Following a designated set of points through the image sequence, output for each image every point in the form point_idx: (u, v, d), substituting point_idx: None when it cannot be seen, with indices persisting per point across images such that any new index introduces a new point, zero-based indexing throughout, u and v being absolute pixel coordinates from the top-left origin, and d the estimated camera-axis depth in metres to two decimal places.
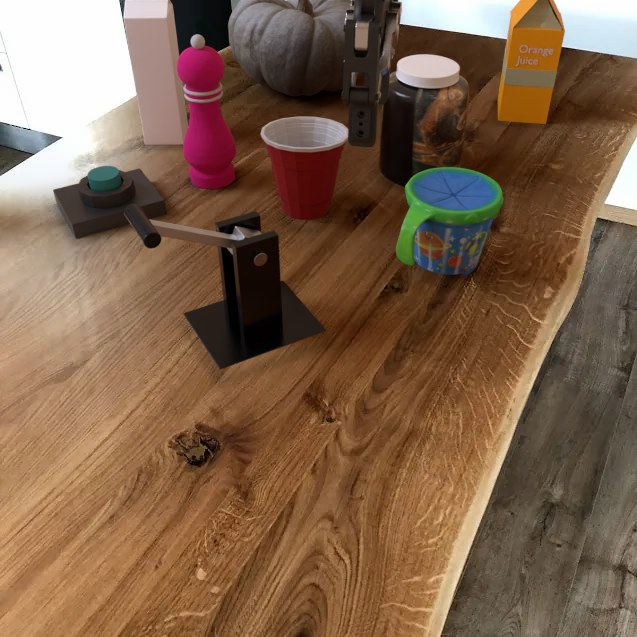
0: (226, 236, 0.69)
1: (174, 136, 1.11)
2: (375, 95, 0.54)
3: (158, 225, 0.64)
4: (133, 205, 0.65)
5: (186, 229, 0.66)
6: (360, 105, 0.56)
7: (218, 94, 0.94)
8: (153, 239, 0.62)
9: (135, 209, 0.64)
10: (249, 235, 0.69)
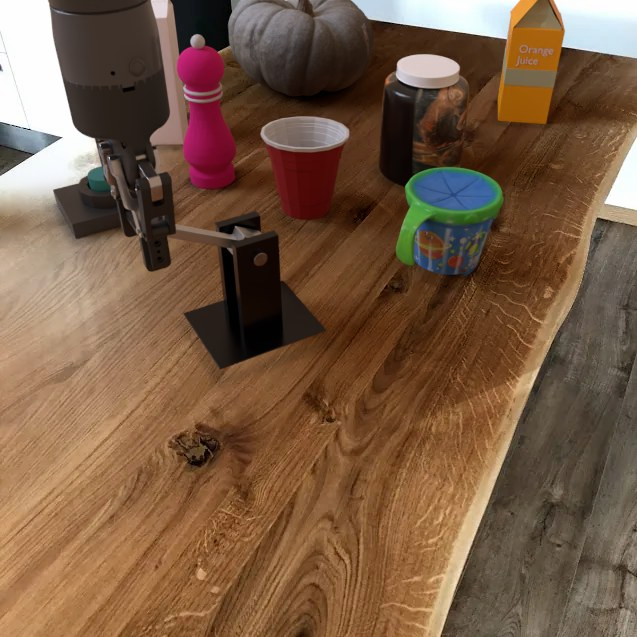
0: (226, 236, 0.69)
1: (174, 136, 1.11)
2: (174, 227, 0.59)
3: None
4: None
5: (186, 229, 0.66)
6: None
7: (218, 94, 0.94)
8: None
9: None
10: (249, 235, 0.69)
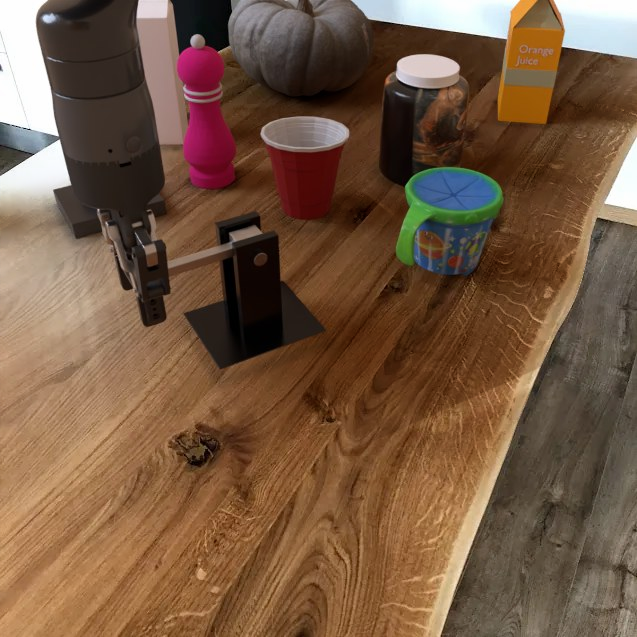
0: (222, 248, 0.69)
1: (174, 136, 1.11)
2: None
3: None
4: None
5: (179, 263, 0.68)
6: None
7: (218, 94, 0.94)
8: None
9: None
10: (243, 238, 0.69)
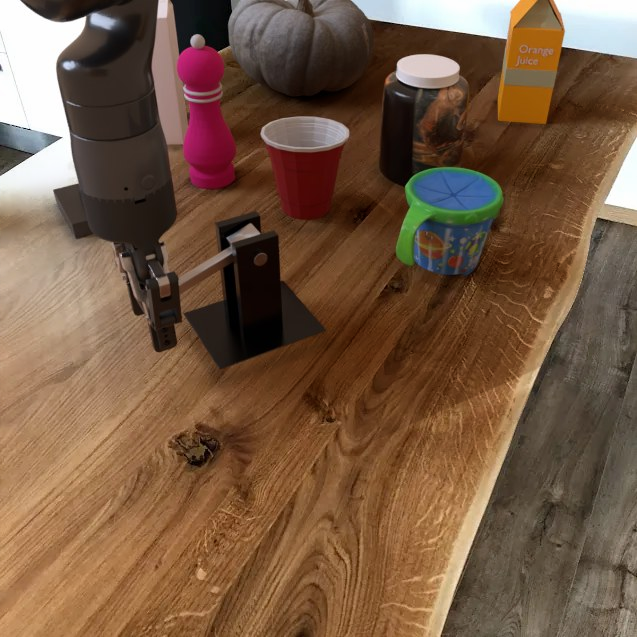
0: (222, 255, 0.70)
1: (174, 136, 1.11)
2: None
3: None
4: None
5: (184, 281, 0.69)
6: None
7: (218, 94, 0.94)
8: None
9: None
10: None
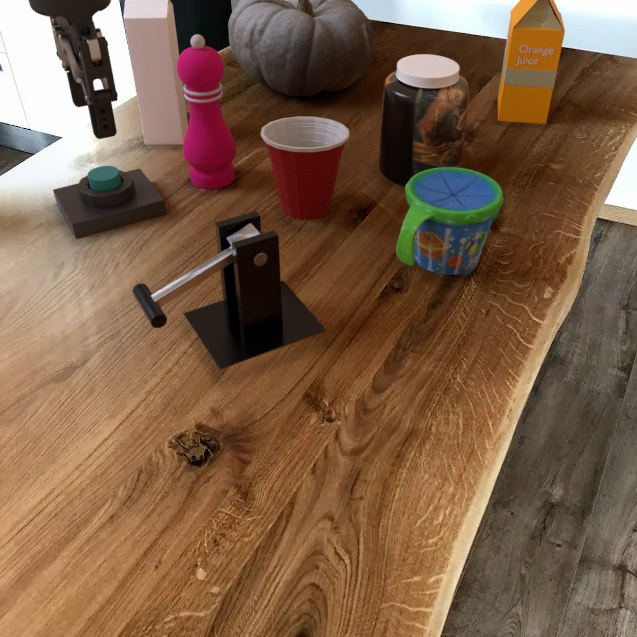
0: (222, 256, 0.70)
1: (174, 136, 1.11)
2: (115, 92, 0.69)
3: (159, 298, 0.68)
4: (135, 288, 0.70)
5: (184, 281, 0.69)
6: (101, 104, 0.71)
7: (218, 94, 0.94)
8: (158, 320, 0.67)
9: (137, 293, 0.69)
10: None
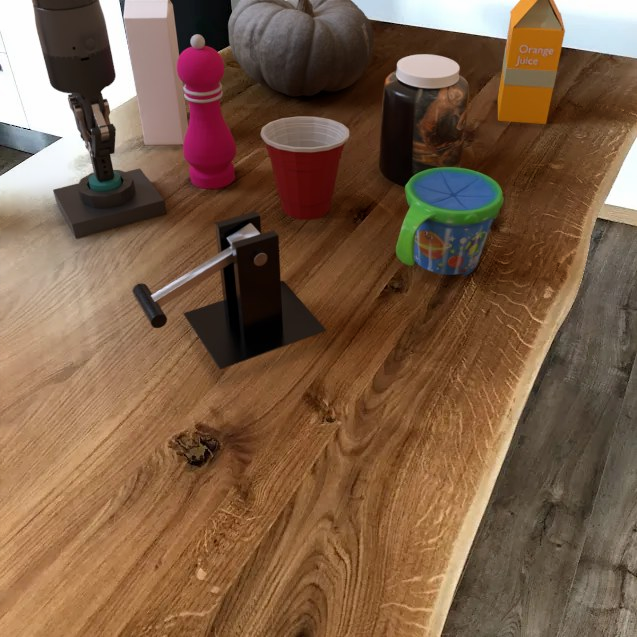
0: (222, 256, 0.70)
1: (174, 136, 1.11)
2: None
3: (159, 298, 0.68)
4: (135, 288, 0.70)
5: (184, 281, 0.69)
6: (101, 156, 0.91)
7: (218, 94, 0.94)
8: (158, 320, 0.67)
9: (137, 293, 0.69)
10: None
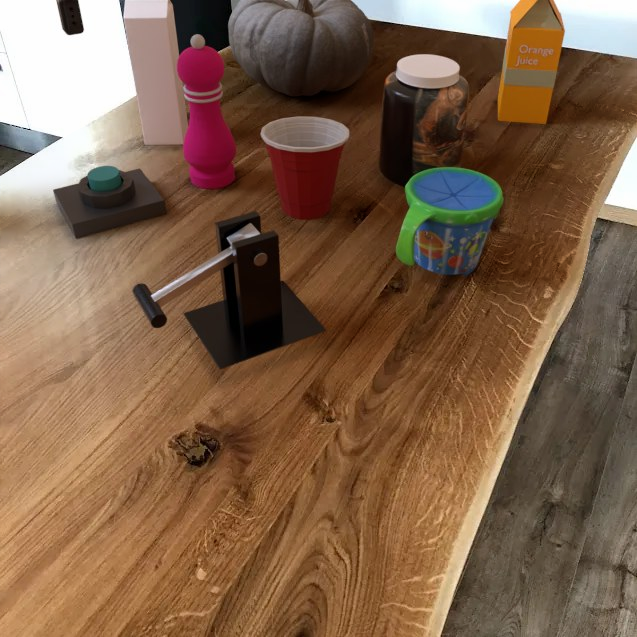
0: (222, 256, 0.70)
1: (174, 136, 1.11)
2: None
3: (159, 298, 0.68)
4: (135, 288, 0.70)
5: (184, 281, 0.69)
6: (69, 2, 0.83)
7: (218, 94, 0.94)
8: (158, 320, 0.67)
9: (137, 293, 0.69)
10: None
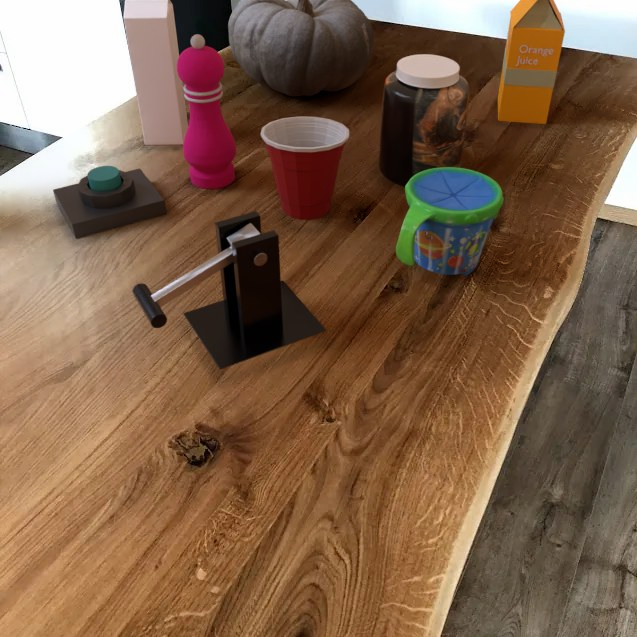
0: (222, 256, 0.70)
1: (174, 136, 1.11)
2: None
3: (159, 298, 0.68)
4: (135, 288, 0.70)
5: (184, 281, 0.69)
6: None
7: (218, 94, 0.94)
8: (158, 320, 0.67)
9: (137, 293, 0.69)
10: None
